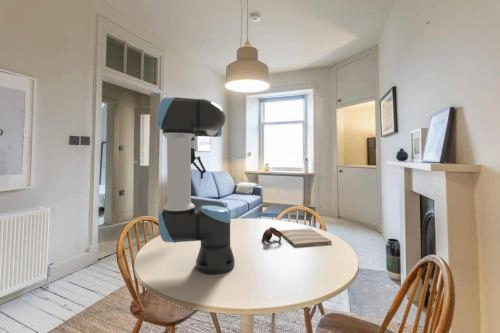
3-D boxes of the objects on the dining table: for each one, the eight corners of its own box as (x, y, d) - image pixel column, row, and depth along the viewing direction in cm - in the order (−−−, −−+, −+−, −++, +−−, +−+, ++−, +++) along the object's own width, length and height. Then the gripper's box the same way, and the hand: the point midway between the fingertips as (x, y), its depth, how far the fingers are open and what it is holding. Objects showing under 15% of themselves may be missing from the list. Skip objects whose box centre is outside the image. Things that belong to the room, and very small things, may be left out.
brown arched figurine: (263, 238, 129) (271, 225, 129) (277, 249, 125) (285, 235, 125) (255, 239, 118) (264, 225, 118) (270, 251, 114) (279, 236, 114)
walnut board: (331, 243, 119) (331, 240, 119) (294, 246, 115) (294, 243, 115) (310, 230, 141) (310, 228, 141) (278, 233, 136) (278, 230, 136)
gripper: (209, 148, 143) (209, 183, 144) (166, 148, 138) (166, 184, 139) (210, 148, 136) (210, 185, 136) (164, 147, 131) (164, 185, 131)
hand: (188, 184), depth 137 cm, fingers open, 13 cm apart
